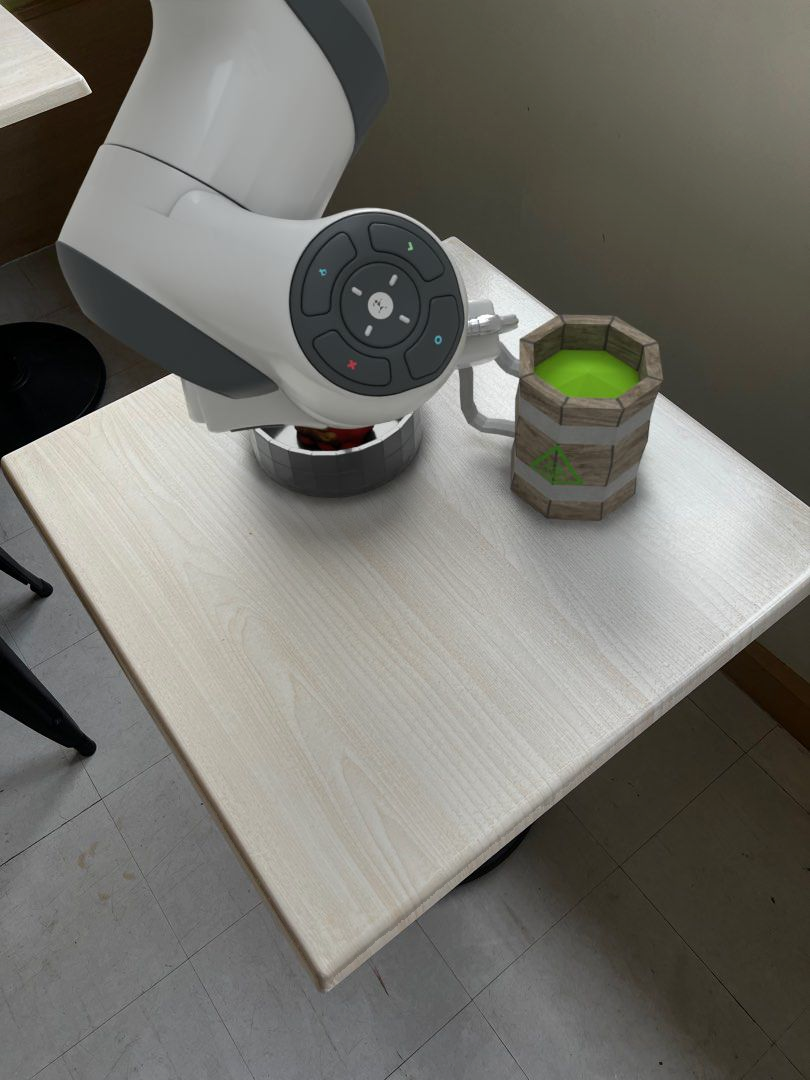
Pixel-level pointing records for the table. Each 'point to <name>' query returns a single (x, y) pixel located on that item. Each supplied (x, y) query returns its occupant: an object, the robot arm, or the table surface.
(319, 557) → the table surface
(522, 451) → the mug
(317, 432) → the red clay folk toy
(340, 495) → the pan
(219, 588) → the table surface
